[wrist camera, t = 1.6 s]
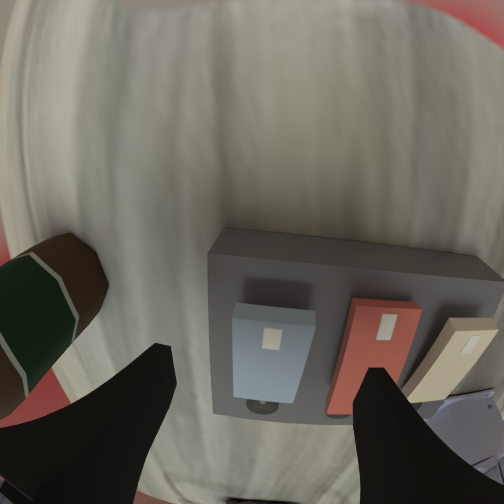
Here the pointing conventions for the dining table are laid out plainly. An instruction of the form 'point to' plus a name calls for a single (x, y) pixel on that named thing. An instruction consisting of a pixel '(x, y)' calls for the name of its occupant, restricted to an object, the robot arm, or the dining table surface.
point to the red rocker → (371, 346)
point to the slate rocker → (270, 351)
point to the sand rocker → (450, 358)
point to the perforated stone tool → (250, 502)
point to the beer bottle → (44, 311)
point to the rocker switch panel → (333, 306)
